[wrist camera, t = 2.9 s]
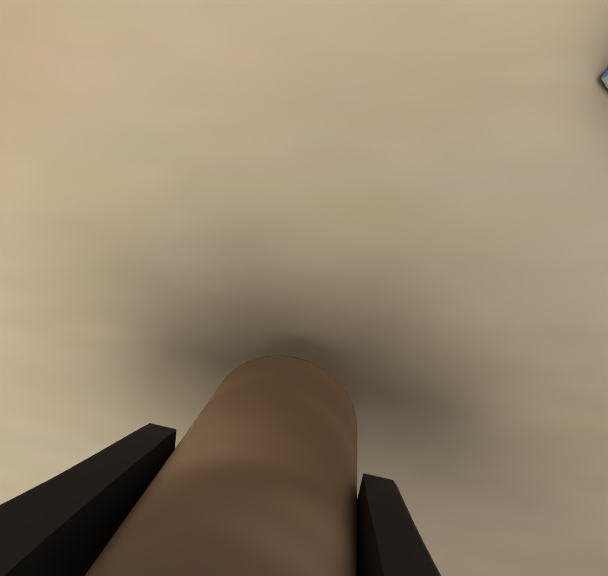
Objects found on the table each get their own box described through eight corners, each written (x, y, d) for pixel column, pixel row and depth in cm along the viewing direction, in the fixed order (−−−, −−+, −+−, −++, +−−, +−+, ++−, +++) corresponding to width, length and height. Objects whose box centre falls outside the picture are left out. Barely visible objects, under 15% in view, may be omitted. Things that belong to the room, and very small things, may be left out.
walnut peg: (371, 373, 10) (419, 1004, 2) (341, 501, 11) (304, 1238, 3) (220, 341, 10) (-194, 791, 3) (205, 468, 11) (-123, 1062, 4)
